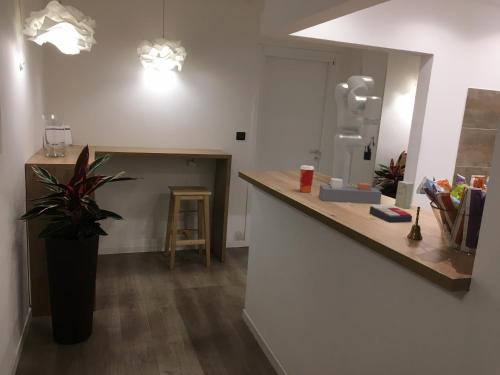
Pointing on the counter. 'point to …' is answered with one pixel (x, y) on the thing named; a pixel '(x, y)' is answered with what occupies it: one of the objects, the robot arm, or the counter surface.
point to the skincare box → (404, 194)
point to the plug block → (349, 195)
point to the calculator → (390, 214)
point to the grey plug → (336, 183)
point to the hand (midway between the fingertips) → (366, 159)
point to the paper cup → (306, 178)
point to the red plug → (364, 186)
